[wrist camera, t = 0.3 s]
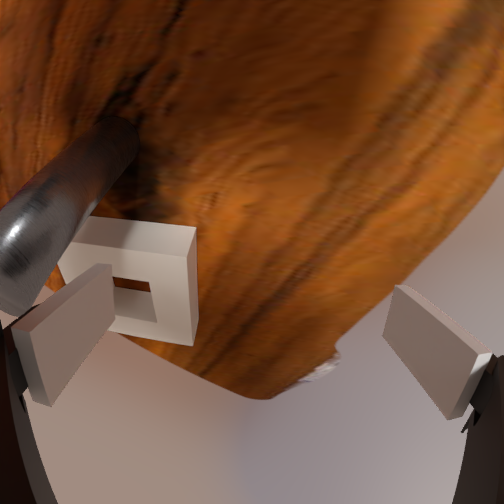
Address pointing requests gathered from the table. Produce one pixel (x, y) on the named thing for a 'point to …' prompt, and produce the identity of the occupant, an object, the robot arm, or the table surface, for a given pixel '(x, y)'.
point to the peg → (58, 208)
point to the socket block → (142, 274)
